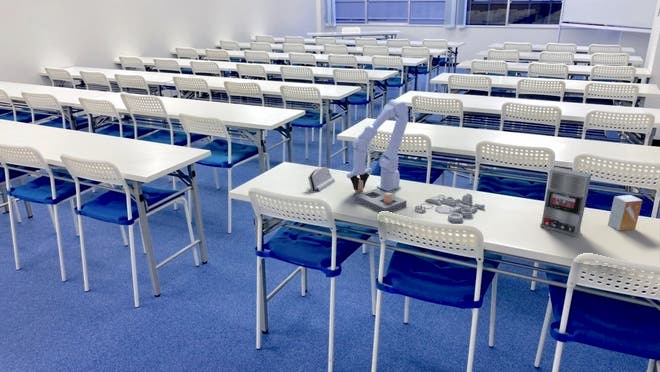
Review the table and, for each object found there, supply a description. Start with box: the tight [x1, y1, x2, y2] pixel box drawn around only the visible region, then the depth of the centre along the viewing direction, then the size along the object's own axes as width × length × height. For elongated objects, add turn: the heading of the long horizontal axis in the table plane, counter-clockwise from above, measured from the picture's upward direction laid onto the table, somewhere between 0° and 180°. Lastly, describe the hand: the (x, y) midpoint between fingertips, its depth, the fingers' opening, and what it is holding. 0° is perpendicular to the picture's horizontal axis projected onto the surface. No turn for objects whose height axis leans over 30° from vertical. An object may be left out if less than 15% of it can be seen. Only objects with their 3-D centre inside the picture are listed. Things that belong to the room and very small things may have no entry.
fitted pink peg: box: [384, 192, 394, 205], centre depth 215 cm, size 4×4×6 cm
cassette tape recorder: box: [539, 166, 592, 237], centre depth 188 cm, size 14×6×25 cm, turn 49°
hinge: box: [307, 167, 336, 193], centre depth 240 cm, size 17×5×10 cm, turn 151°
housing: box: [354, 188, 407, 212], centre depth 219 cm, size 20×14×2 cm
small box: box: [607, 194, 643, 232], centre depth 192 cm, size 8×6×13 cm
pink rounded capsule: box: [354, 179, 364, 194], centre depth 232 cm, size 4×4×6 cm
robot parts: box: [414, 193, 486, 223], centre depth 212 cm, size 25×25×5 cm
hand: (359, 188), depth 232 cm, fingers closed on pink rounded capsule, 4 cm apart
